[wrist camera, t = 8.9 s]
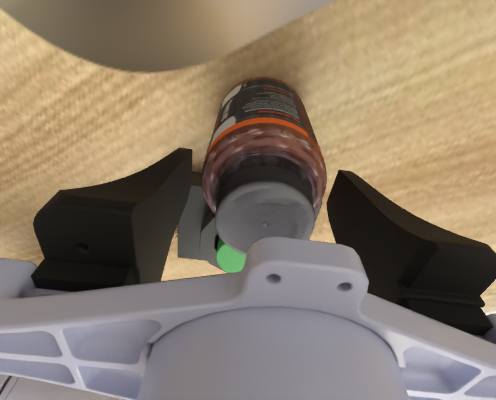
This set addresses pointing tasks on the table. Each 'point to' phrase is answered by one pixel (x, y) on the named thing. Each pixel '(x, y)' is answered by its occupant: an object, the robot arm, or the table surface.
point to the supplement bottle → (263, 166)
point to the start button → (229, 258)
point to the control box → (200, 226)
